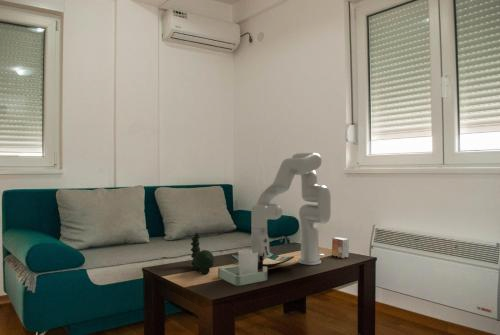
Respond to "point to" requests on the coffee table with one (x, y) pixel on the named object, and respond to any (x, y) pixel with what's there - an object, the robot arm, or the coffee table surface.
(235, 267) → the tray
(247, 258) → the candle holder
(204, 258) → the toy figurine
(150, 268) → the coffee table surface
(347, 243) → the small box
